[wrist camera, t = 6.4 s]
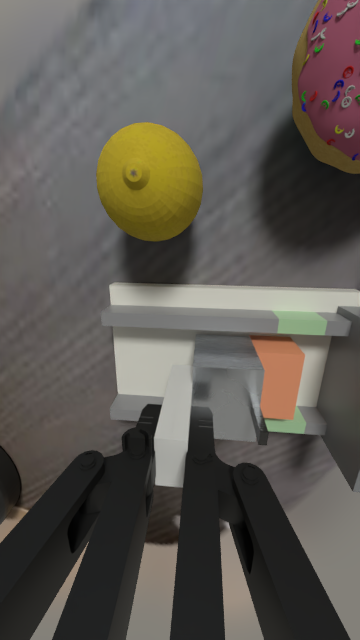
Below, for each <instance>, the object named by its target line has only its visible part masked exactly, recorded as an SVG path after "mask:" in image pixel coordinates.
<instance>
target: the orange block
mask: <svg viewBox="0 0 360 640" xmlns="http://www.w3.org/2000/svg"><path fill="white" fill-rule="evenodd" d="M249 337H250V338H251V340H252V343H253V345H254V347H255V350H256V352H257V354H258V356H259V359H260V361H261V363H262V365H263V368H264V370H265V373H264V380H263V388H262V395H261V403H260V408H261V411H262V414H263V417H264V418H274V419H288V420H293V418H294V413H295V407H296V402H297V396H298V391H299V386H300V380H301V375H302V370H303V364H304V359H305V354H304V353H303V352H302V350H301V349H300V348H299V347H298V346H297V345H296V343H295V342H294V341H293V340H292V339H291V337H280V336H257V335H249Z"/></svg>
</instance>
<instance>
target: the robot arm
mask: <svg viewBox="0 0 360 640" xmlns="http://www.w3.org/2000/svg"><path fill="white" fill-rule="evenodd" d="M192 383H193V366H190V365H172V368H171V372H170V376H169V380H168V384H167V388H166V392H165V396H164V400H163V404H162V405H159V404H147V405H146V406H145V407H144V408H143V409H142V412H141V414H140V417H139V420H138V423H137V426H136V427H135V428H132V429H129V430H128V431H126V432H125V433H124V434H123V436H122V447H123V452H121V453H119V454H117V455H114V456H109V457H103V455H102V454H101V453H100V452H98V451H93V450H91V451H86V452H84V453H82V454H80V455H79V456H77V457H76V458H75V459H74V460H73V461H72V463H71V464H70V465H69V466H68V467H67V468H66V469H65V471H64V472H63V473H62V474H61V475H60V476H59V477H58V478H57V480H56V481H55V482H54V483H53V484H52V485H51V486H50V488H49V489H48V490H47V491H46V492H45V493H44V494H43V495H42V497H41V498H40V499H39V500H38V501H37V502H36V503H35V505H34V506H33V507H32V508H31V509H30V510H29V511H28V512H27V514H26V515H25V516H24V517H23V518H22V519H21V520H20V522H19V523H18V524H17V525H16V526H15V527H14V528H13V530H12V531H11V532H10V533H9V534H8V535H7V536H6V537H5V539H4V540H3V541H2V542H1V543H0V640H30V638H31V637H32V635H33V633H34V632H35V630H36V628H37V627H38V625H39V623H40V622H41V620H42V618H43V617H44V615H45V613H46V612H47V610H48V608H49V607H50V605H51V603H52V602H53V600H54V598H55V597H56V595H57V593H58V592H59V589H60V588H61V587H62V585H63V583H64V582H65V580H66V578H67V577H68V575H69V573H70V572H71V570H72V568H73V567H74V565H75V563H76V562H77V560H78V558H79V557H80V555H81V553H82V552H83V550H84V548H85V547H86V545H87V543H88V542H89V543H88V546H87V548H86V551H85V554H84V556H83V559H82V562H81V564H80V567H79V569H78V572H77V575H76V577H75V580H74V583H73V586H72V588H71V591H70V593H69V596H68V599H67V601H66V605H65V607H64V609H63V612H62V615H61V617H60V620H59V623H58V625H57V628H56V631H55V633H54V636H53V639H52V640H126V635H127V630H128V624H129V619H130V614H131V610H132V604H133V599H134V594H135V589H136V584H137V579H138V573H139V568H140V563H141V558H142V552H143V548H144V543H145V538H146V532H147V527H148V522H149V517H150V512H151V507H152V502H153V487H154V482H155V485H161V486H171V487H182V488H183V494H182V506H181V517H180V529H179V540H178V552H177V563H176V576H175V587H174V599H173V609H172V621H171V632H170V640H225V629H224V609H223V589H222V569H221V548H220V527H219V518H221V519H223V520H225V521H227V522H229V526H230V529H231V532H232V536H233V539H234V542H235V545H236V549H237V552H238V555H239V558H240V562H241V565H242V568H243V572H244V575H245V578H246V581H247V585H248V588H249V591H250V594H251V598H252V601H253V604H254V608H255V611H256V614H257V617H258V621H259V624H260V627H261V630H262V634H263V637H264V640H350V638H349V636H348V634H347V632H346V630H345V628H344V626H343V624H342V622H341V620H340V618H339V616H338V614H337V613H336V611H335V609H334V607H333V605H332V603H331V601H330V599H329V597H328V595H327V593H326V591H325V589H324V587H323V586H322V584H321V582H320V580H319V578H318V576H317V574H316V572H315V570H314V568H313V566H312V564H311V562H310V561H309V559H308V557H307V555H306V553H305V551H304V549H303V547H302V545H301V543H300V541H299V539H298V537H297V535H296V534H295V532H294V530H293V528H292V526H291V524H290V522H289V520H288V518H287V516H286V514H285V512H284V510H283V508H282V506H281V504H280V503H279V501H278V499H277V497H276V495H275V493H274V491H273V489H272V487H271V485H270V483H269V481H268V479H267V477H266V476H265V474H264V473H263V471H262V470H261V469H260V468H259V467H257V466H256V465H253V464H251V463H241V464H238V465H237V466H236V467H232V466H230V465H227V464H225V463H223V462H222V461H221V460H220V459H219V458H218V457H217V455H216V453H215V449H214V429H213V413H212V412H211V410H210V408H209V407H198V406H192ZM19 494H20V480H19V476H18V473H17V471H16V468H15V466H14V465H13V463H12V461H11V460H10V458H9V457H8V456H7V454H6V453H5V452H4V451H3V450H2V449H1V448H0V524H1V523H2V522H3V521H4V519H5V518H6V517H7V515H8V514H9V512H10V511H11V510H12V508H13V507H14V505H15V504H16V502H17V500H18V498H19Z"/></svg>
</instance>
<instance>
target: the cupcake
mask: <svg viewBox="0 0 360 640" xmlns="http://www.w3.org/2000/svg"><path fill="white" fill-rule="evenodd" d="M292 94H293V108H292V113H293V119H294V122H295V124H296V126H297V128H298V130H299V131H300V133H301V135H302V137H303V138H304V140H305V142H306V144H307V146H308V148H309V150H310V151H311V153H312V154H313V156H314V157H315V158H316V159H318V160H319V161H321V162H323V163H326V164H329V165H331V166H334V167H336V168H338V169H340V170H342V171H344V172H347V173H352V174H360V0H318V2H317V4H316V5H315V7H314V9H313V11H312V13H311V15H310V17H309V20H308V22H307V24H306V26H305V28H304V30H303V32H302V34H301V37H300V39H299V41H298V44H297V47H296V50H295V53H294V58H293V65H292Z"/></svg>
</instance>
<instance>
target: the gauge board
mask: <svg viewBox="0 0 360 640" xmlns="http://www.w3.org/2000/svg"><path fill="white" fill-rule="evenodd" d="M109 287H110V299H111V305H110V306H108V307H107V308H106V309H104V310H103V311H102V312H101V320H102V326H113V337H114V350H115V362H116V375H117V387H118V395H117V397H116V398H115V400H114V402H113V404H112V406H111V407H110V417H111V419H115V420H128V421H138V420H139V417H140V414H141V412H142V409H143V408H144V407H145V406H146V405H147V404H159V405H162V404H163V400H164V396H165V392H166V388H167V384H168V380H169V376H170V372H171V368H172V365H190V366H193V361H194V350H195V340H196V334H202V335H224V336H247V337H249V335H257V336H280V337H291V339H292V340H293V341H294V342H295V343H296V345H297V346H298V347H299V348H300V349H301V350H302V352H303V353H304V354H305V359H304V364H303V370H302V375H301V380H300V386H299V391H298V396H297V402H296V407H295V413H294V418H293V420H288V419H274V418H264V420H265V423H266V426H267V429H268V431H272V432H286V433H299V434H312V435H321V437H322V439H323V441H324V442H325V444H326V446H327V448H328V449H329V451H330V453H331V455H332V456H333V458H334V460H335V461H336V463H337V465H338V467H339V468H340V470H341V472H342V474H343V475H344V477H345V479H346V481H347V482H348V484H349V486H350V487H351V489H352V491H353V492H360V291H358V290H356V289H332V288H296V287H260V286H224V285H189V284H153V283H117V282H115V283H113V284H111V285H109Z"/></svg>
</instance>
